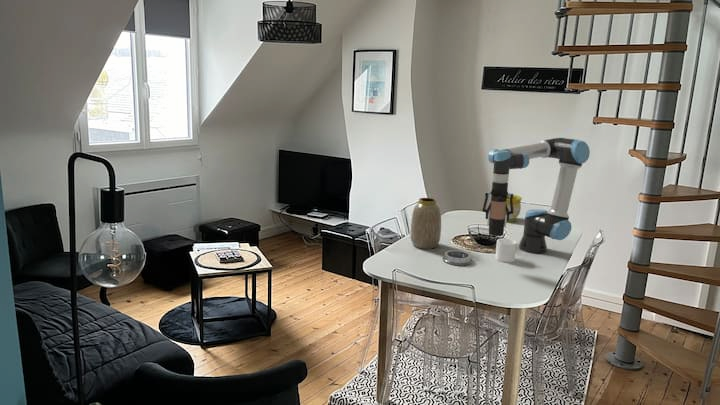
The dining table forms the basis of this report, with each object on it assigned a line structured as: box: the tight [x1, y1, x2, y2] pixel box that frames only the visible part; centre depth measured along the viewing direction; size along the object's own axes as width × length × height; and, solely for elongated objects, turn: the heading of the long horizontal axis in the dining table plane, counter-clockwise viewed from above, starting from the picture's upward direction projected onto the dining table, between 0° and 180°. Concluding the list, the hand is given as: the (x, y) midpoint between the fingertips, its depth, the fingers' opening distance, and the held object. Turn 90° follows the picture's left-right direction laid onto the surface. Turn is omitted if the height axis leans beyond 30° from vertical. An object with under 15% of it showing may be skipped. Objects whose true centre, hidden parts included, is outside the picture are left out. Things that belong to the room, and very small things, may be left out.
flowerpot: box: [505, 194, 522, 223], centre depth 362 cm, size 18×18×16 cm
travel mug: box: [488, 194, 507, 237], centre depth 264 cm, size 8×8×20 cm
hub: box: [442, 249, 473, 267], centre depth 277 cm, size 15×15×4 cm
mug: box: [494, 238, 517, 264], centre depth 281 cm, size 13×10×10 cm
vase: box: [410, 197, 442, 250], centre depth 299 cm, size 17×17×27 cm
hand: (496, 225), depth 265 cm, fingers closed on travel mug, 8 cm apart
